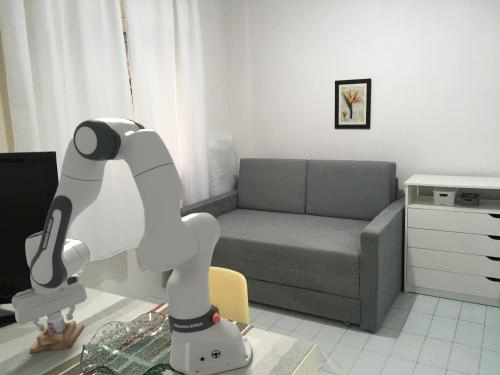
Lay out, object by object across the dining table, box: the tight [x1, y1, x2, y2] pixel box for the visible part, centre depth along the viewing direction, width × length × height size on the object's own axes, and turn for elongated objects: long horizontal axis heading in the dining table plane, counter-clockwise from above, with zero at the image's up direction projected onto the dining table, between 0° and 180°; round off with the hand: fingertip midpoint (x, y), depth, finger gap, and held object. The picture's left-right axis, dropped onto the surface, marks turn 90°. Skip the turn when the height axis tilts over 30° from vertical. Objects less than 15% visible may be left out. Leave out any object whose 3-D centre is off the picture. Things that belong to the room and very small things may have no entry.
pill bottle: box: [46, 310, 66, 335], centre depth 129 cm, size 5×5×8 cm
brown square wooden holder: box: [29, 320, 85, 353], centre depth 130 cm, size 12×12×4 cm
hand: (56, 324), depth 129 cm, fingers open, 7 cm apart
